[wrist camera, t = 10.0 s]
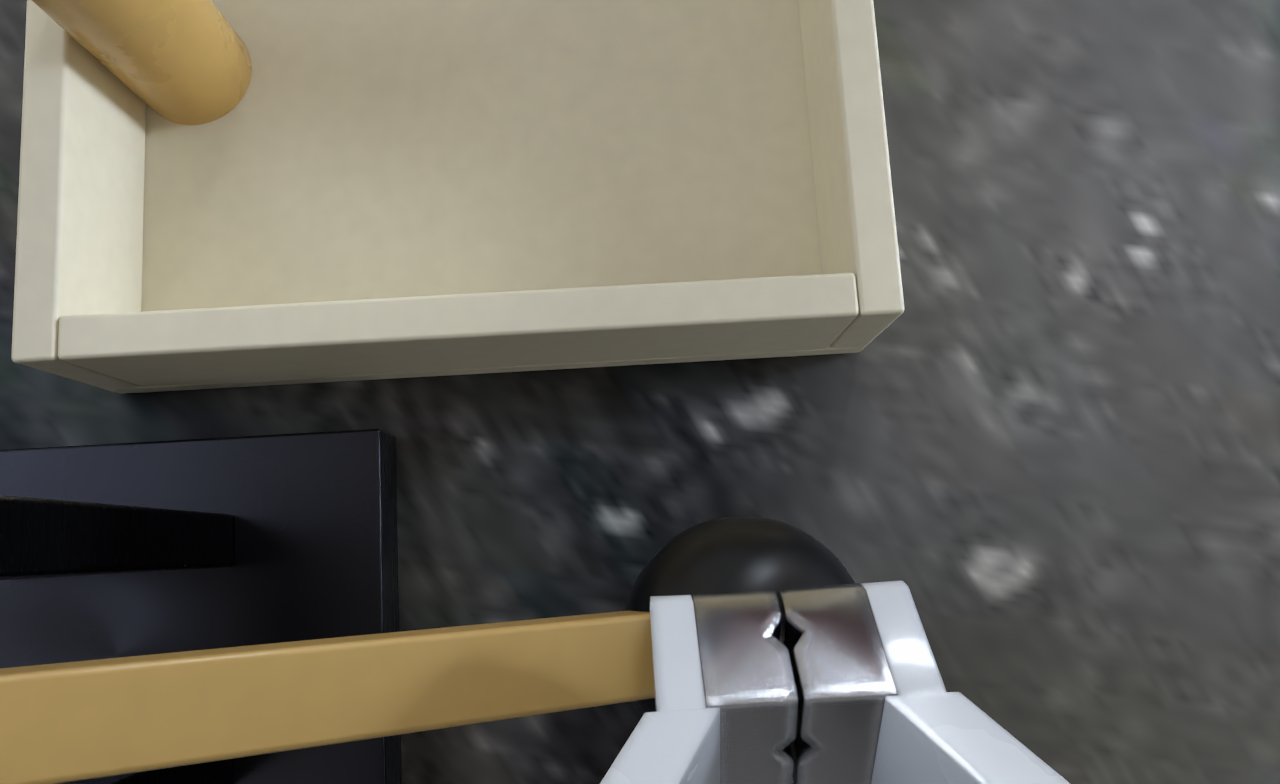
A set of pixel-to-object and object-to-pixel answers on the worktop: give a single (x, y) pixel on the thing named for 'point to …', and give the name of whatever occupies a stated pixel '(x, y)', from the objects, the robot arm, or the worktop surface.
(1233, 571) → the worktop surface
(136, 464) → the bracket
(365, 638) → the tap lever
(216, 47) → the spout
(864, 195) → the cream wooden tray
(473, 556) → the worktop surface
